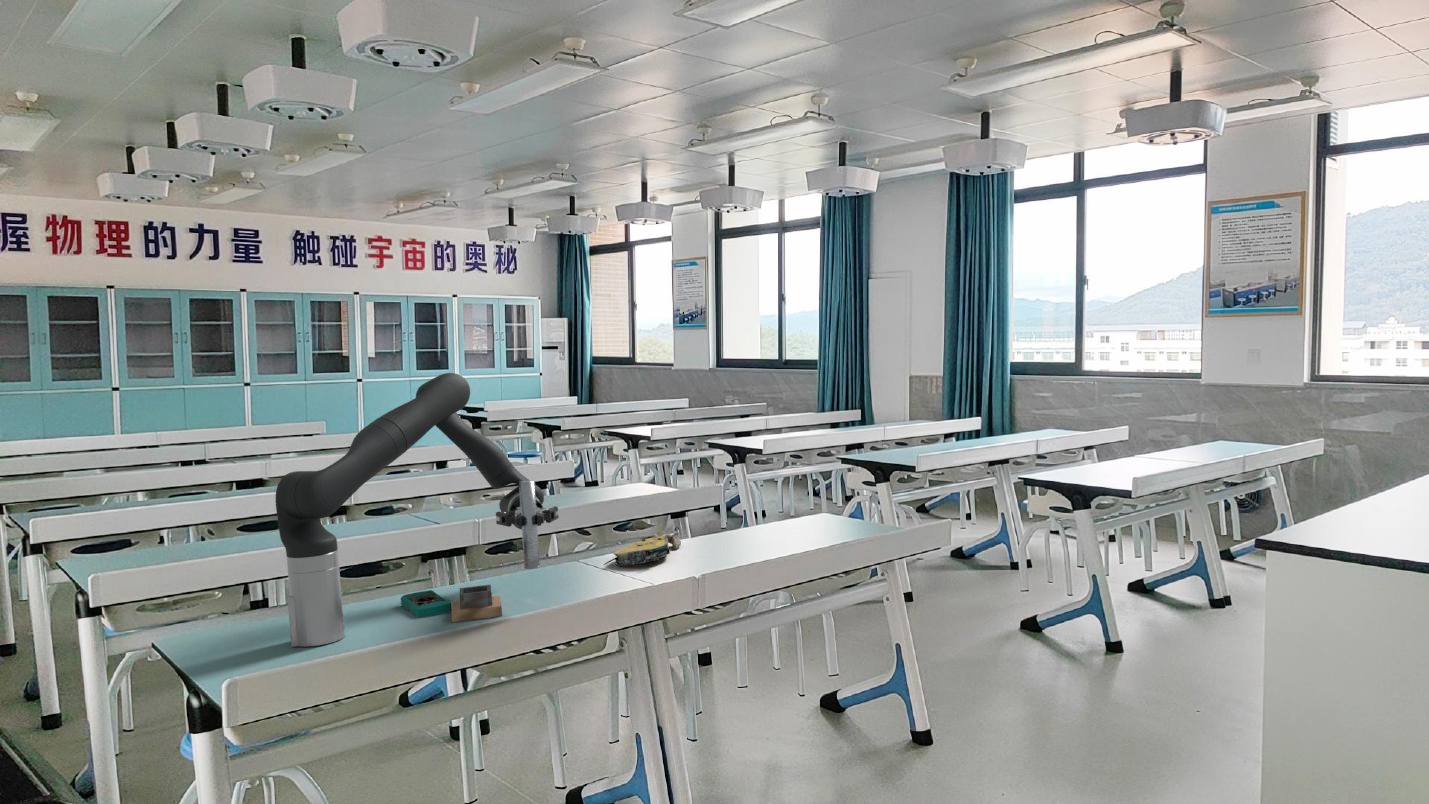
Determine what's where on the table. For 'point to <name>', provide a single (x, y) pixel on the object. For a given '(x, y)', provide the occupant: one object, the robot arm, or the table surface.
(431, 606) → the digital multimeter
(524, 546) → the rod
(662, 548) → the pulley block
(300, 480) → the robot arm
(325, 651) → the table surface
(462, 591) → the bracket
